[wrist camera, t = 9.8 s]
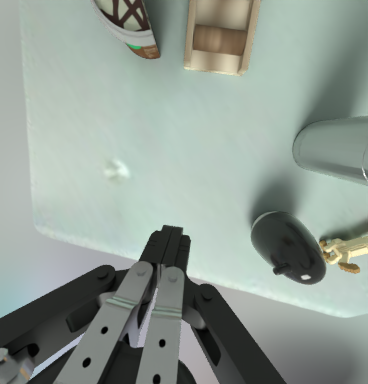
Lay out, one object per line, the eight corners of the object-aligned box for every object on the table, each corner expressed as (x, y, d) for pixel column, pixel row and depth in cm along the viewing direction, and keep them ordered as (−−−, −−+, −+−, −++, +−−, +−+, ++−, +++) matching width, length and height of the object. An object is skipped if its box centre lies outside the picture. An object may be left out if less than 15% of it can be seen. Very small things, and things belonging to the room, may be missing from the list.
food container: (100, -8, 27) (54, -86, 18) (137, -24, 27) (110, -112, 17) (130, 79, 31) (105, 53, 21) (163, 67, 30) (152, 35, 21)
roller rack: (260, -31, 26) (273, -59, 23) (241, 76, 31) (249, 67, 27) (194, -41, 26) (196, -71, 22) (184, 68, 30) (183, 59, 26)
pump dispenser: (246, 204, 38) (284, 247, 23) (295, 205, 38) (363, 247, 23) (241, 245, 41) (272, 305, 26) (286, 245, 41) (342, 305, 26)
